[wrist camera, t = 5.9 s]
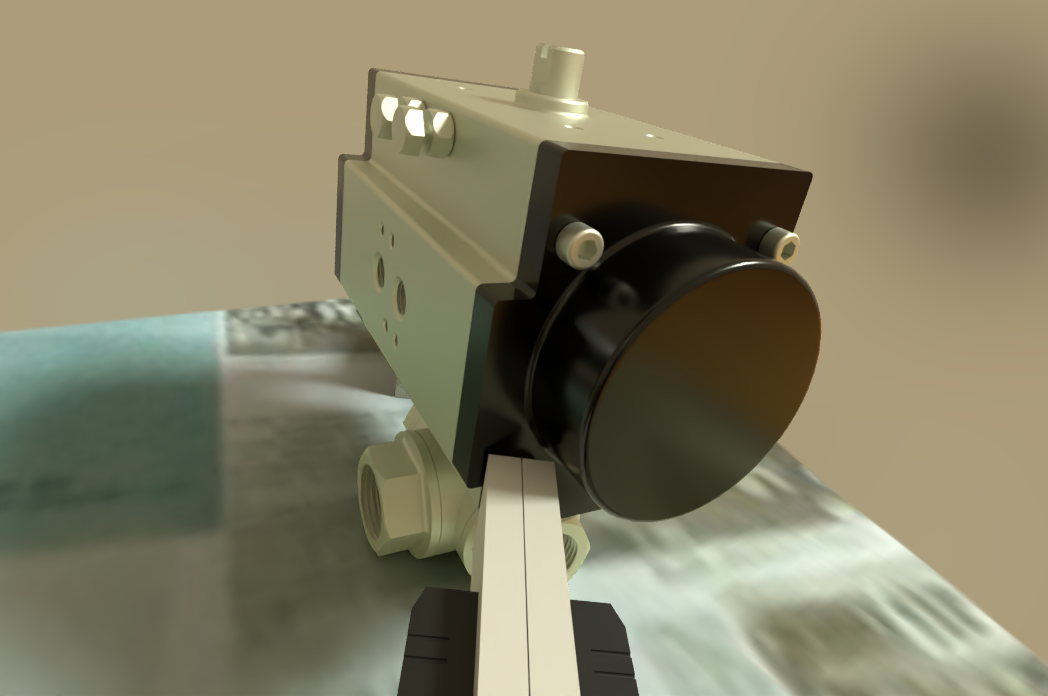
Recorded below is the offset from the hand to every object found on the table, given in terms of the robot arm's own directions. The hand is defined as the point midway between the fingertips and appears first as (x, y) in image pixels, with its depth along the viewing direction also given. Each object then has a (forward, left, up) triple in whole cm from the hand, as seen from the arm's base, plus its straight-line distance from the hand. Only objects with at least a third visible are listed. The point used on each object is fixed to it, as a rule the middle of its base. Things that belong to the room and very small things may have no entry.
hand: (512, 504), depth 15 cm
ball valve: (-1, +8, -8) cm, 11 cm away
